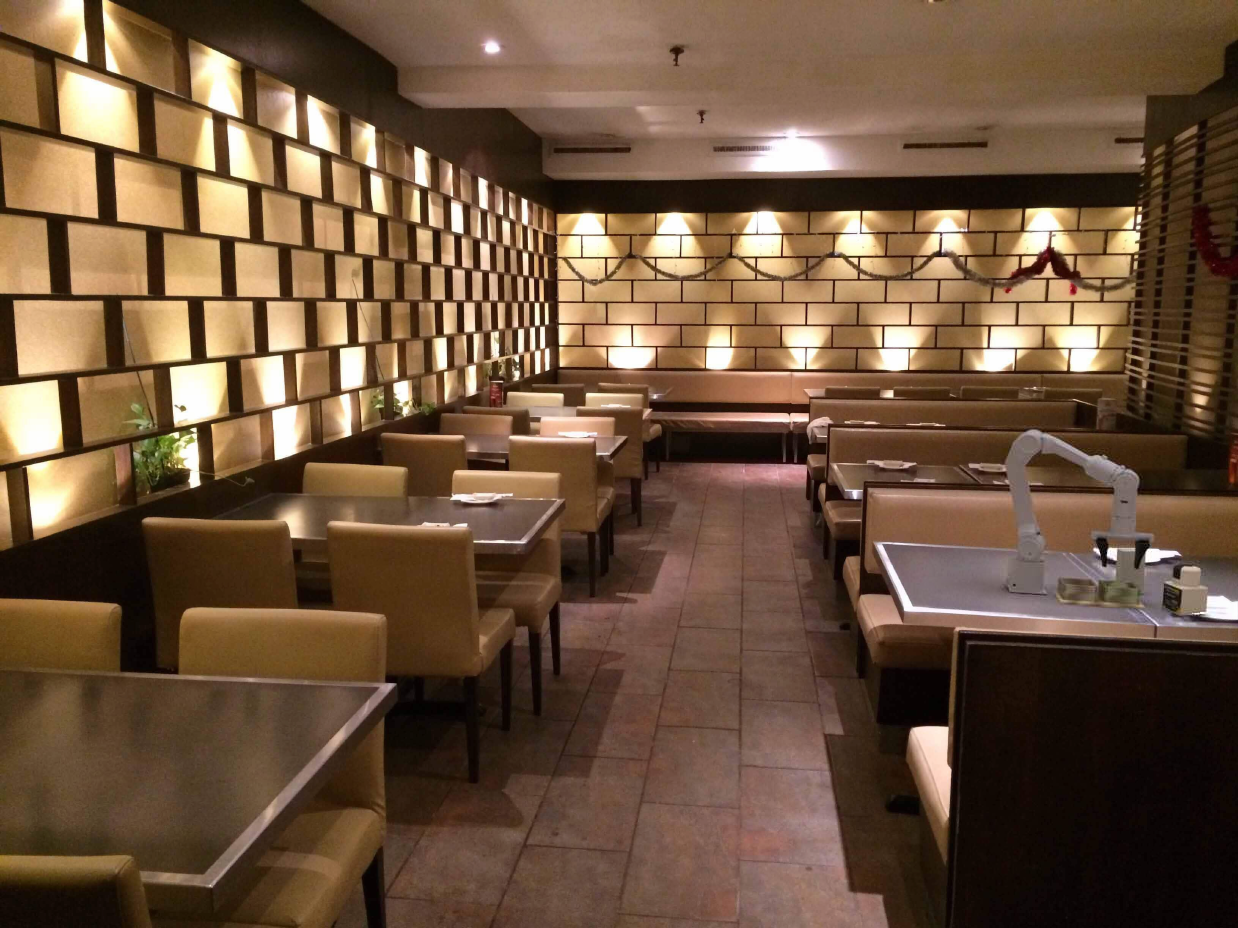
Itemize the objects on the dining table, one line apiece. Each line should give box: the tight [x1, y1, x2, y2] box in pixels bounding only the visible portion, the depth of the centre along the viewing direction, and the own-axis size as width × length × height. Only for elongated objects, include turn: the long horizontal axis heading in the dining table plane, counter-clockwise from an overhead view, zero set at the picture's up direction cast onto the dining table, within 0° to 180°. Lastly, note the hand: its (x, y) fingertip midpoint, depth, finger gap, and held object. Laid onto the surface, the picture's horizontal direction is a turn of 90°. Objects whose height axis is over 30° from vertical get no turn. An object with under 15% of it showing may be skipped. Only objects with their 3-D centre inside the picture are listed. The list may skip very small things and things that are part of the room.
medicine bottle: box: [1161, 563, 1209, 617], centre depth 246 cm, size 7×7×12 cm
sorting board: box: [1053, 576, 1146, 610], centre depth 256 cm, size 20×11×5 cm, turn 75°
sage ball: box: [1109, 580, 1129, 588], centre depth 256 cm, size 5×5×5 cm
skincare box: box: [1114, 547, 1147, 595], centre depth 265 cm, size 6×4×12 cm
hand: (1120, 567), depth 255 cm, fingers open, 7 cm apart
